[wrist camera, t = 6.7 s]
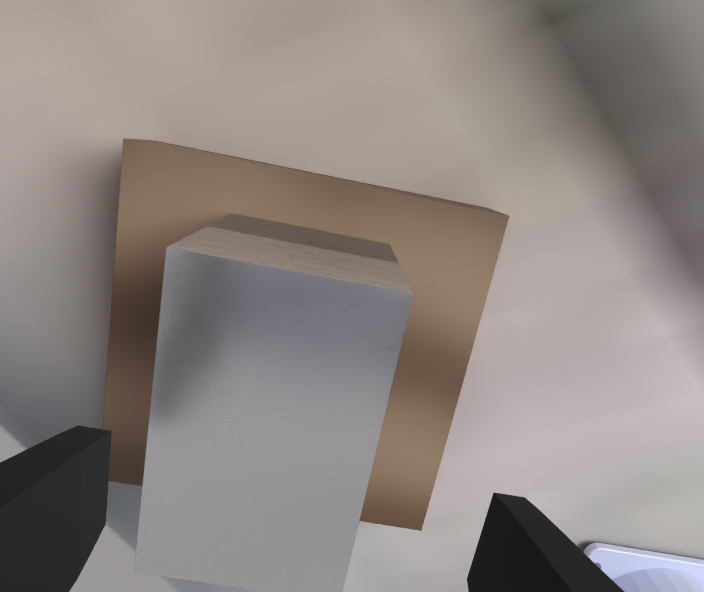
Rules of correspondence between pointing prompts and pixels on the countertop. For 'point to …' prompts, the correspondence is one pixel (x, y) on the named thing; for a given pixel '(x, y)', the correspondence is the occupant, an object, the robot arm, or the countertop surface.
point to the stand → (322, 214)
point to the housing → (267, 403)
